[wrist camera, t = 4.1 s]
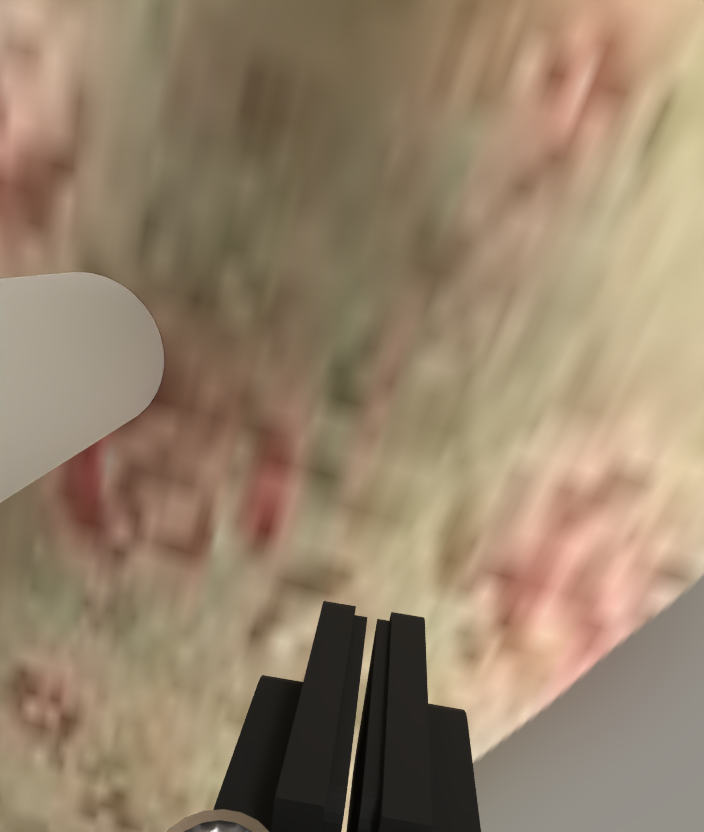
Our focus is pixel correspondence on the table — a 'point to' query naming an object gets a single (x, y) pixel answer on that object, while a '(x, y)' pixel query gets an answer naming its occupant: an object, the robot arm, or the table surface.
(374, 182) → the table surface
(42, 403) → the cylindrical container
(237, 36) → the table surface
